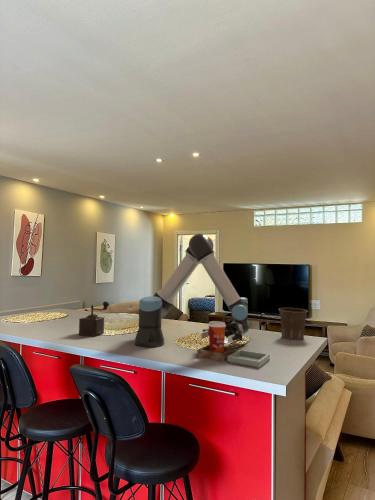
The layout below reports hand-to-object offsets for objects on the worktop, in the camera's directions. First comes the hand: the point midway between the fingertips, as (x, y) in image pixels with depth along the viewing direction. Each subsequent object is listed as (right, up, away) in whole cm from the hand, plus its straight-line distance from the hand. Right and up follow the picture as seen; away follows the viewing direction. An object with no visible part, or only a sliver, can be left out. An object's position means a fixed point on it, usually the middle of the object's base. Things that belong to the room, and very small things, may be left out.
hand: (214, 337), depth 154 cm
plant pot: (+49, -11, +44) cm, 66 cm away
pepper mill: (-66, -9, +43) cm, 79 cm away
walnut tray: (+1, -9, +2) cm, 9 cm away
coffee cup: (+1, -9, +2) cm, 9 cm away
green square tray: (+14, -9, -6) cm, 18 cm away
